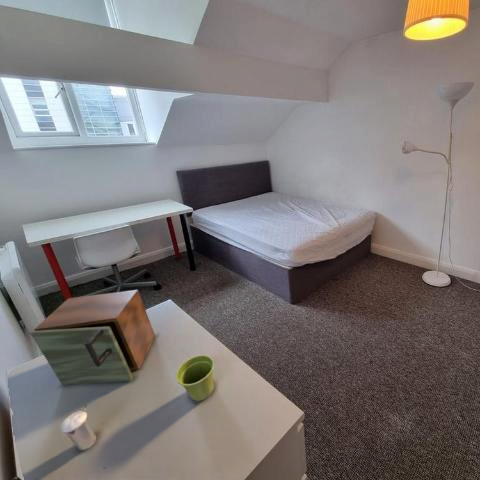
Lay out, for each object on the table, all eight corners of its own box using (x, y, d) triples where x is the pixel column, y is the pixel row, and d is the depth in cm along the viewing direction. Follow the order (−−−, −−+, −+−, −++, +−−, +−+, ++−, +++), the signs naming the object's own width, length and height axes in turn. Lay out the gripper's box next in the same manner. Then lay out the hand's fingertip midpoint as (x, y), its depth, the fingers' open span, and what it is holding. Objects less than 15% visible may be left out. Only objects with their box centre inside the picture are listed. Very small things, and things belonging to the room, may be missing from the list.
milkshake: (107, 434, 65) (91, 407, 61) (82, 457, 61) (63, 430, 57) (96, 426, 67) (80, 399, 63) (71, 448, 63) (52, 421, 59)
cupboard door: (120, 397, 74) (93, 343, 66) (46, 401, 73) (10, 348, 65) (133, 377, 79) (110, 326, 71) (65, 382, 79) (33, 330, 71)
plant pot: (188, 414, 69) (180, 392, 65) (180, 388, 76) (172, 366, 72) (224, 393, 74) (218, 371, 70) (213, 370, 81) (208, 349, 77)
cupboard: (138, 369, 82) (116, 318, 74) (65, 381, 79) (33, 329, 71) (155, 336, 95) (137, 289, 87) (92, 346, 92) (68, 298, 84)
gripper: (-151, 588, 40) (-4, 467, 54) (-110, 643, 36) (39, 496, 50) (-191, 568, 37) (-25, 445, 51) (-152, 625, 33) (19, 473, 47)
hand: (7, 470), depth 50 cm, fingers open, 8 cm apart
